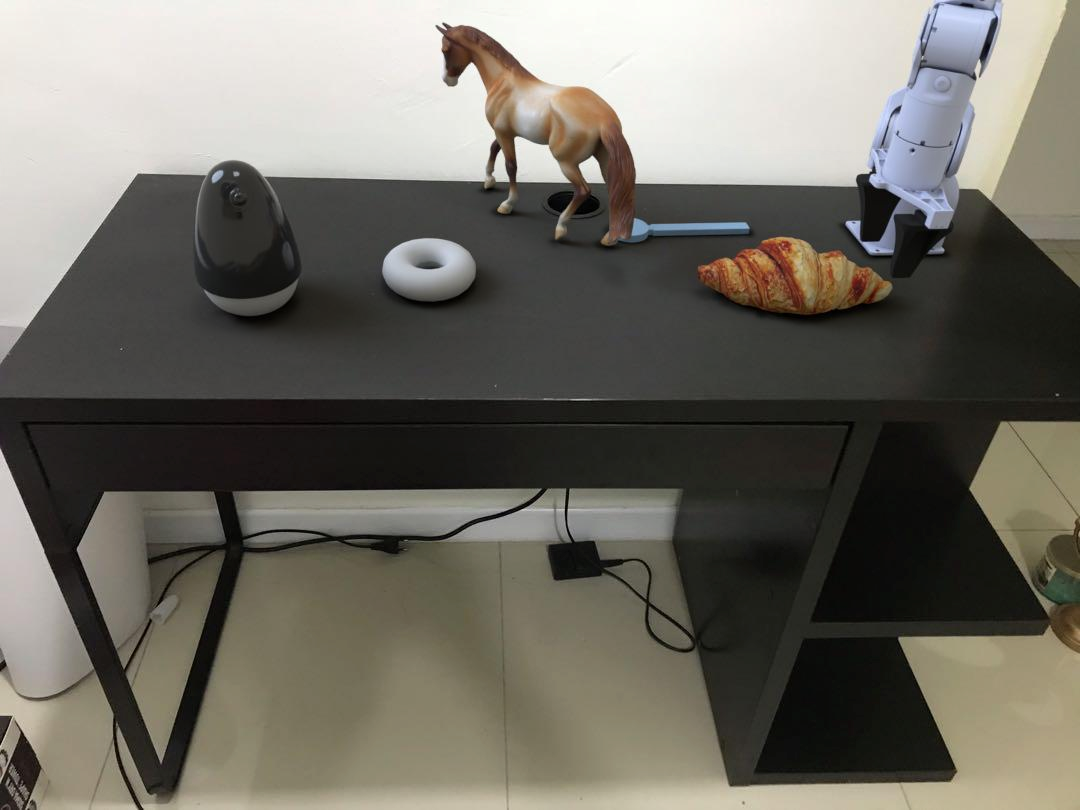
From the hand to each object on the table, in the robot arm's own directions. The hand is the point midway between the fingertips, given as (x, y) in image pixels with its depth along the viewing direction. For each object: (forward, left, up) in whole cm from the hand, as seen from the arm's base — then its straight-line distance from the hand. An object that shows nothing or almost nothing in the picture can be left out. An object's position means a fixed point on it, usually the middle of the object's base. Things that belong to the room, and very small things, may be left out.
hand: (884, 257), depth 97 cm
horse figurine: (+36, -17, -5) cm, 40 cm away
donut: (+48, -6, -5) cm, 49 cm away
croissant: (+9, 0, -5) cm, 11 cm away
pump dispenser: (+66, -3, -5) cm, 67 cm away
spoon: (+18, -16, -5) cm, 24 cm away
